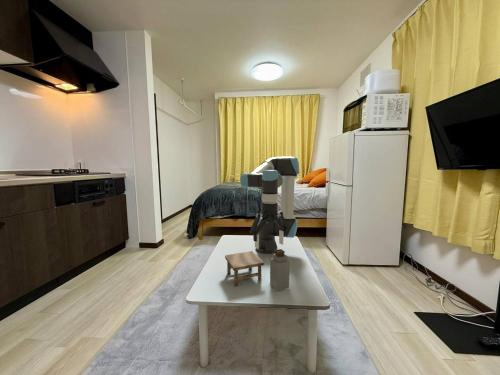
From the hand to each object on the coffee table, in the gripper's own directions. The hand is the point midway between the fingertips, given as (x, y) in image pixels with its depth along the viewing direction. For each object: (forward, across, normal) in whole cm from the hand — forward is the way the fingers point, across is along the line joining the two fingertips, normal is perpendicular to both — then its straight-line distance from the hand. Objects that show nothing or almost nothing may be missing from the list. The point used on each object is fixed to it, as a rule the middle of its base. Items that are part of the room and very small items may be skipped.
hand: (269, 245), depth 107 cm
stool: (+20, +8, -12) cm, 25 cm away
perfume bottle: (+20, -4, +3) cm, 21 cm away
